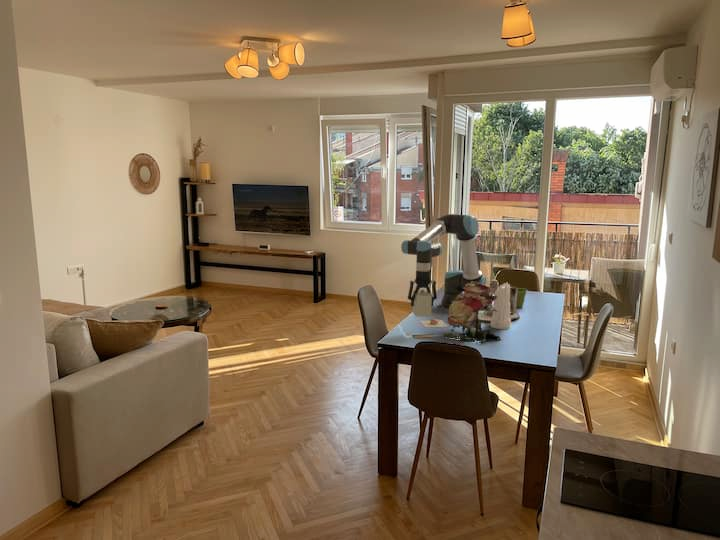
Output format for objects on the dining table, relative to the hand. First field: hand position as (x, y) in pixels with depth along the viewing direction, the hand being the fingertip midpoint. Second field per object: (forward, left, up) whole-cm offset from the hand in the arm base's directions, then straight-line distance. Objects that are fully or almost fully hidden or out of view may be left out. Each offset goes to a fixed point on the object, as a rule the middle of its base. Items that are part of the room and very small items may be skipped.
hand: (421, 312), depth 280 cm
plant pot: (-51, +76, -12) cm, 92 cm away
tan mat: (0, 0, -12) cm, 12 cm away
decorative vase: (-9, +48, -12) cm, 50 cm away
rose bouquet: (+8, +23, -12) cm, 28 cm away
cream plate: (-15, +11, -12) cm, 22 cm away
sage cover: (0, 0, -1) cm, 1 cm away
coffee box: (-39, +65, -12) cm, 77 cm away
